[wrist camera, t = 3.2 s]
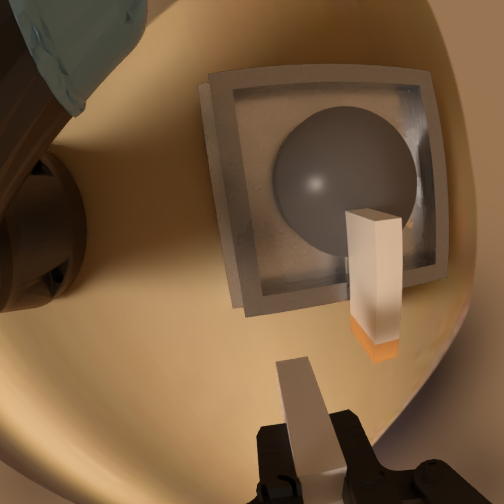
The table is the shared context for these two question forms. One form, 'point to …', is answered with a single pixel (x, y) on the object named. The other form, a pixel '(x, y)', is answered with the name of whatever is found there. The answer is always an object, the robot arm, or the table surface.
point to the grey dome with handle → (353, 209)
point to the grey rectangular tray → (262, 165)
